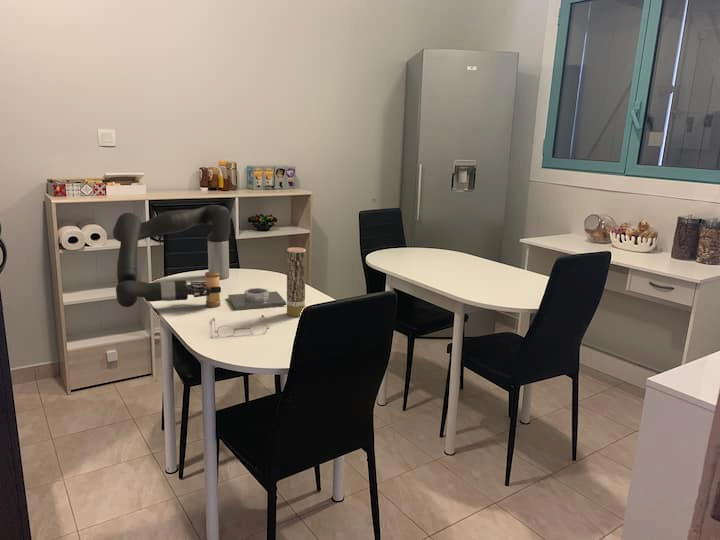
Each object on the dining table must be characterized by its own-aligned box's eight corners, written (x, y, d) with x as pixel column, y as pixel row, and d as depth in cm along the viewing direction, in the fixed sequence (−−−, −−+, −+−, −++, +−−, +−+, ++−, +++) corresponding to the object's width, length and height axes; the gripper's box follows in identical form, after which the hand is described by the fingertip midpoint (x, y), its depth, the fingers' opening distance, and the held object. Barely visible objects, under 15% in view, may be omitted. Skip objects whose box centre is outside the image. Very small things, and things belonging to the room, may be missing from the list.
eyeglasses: (214, 338, 187) (214, 326, 186) (212, 321, 205) (212, 310, 204) (269, 334, 192) (269, 323, 191) (262, 318, 210) (262, 308, 209)
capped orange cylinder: (205, 303, 221) (204, 271, 218) (219, 302, 223) (218, 271, 220) (206, 308, 216) (205, 275, 213) (221, 306, 218) (220, 274, 215)
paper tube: (297, 310, 217) (297, 246, 211) (308, 314, 212) (309, 249, 206) (283, 313, 212) (283, 248, 206) (294, 318, 208) (294, 252, 202)
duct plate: (228, 298, 229) (228, 287, 228) (276, 294, 236) (276, 284, 235) (234, 310, 215) (234, 298, 214) (286, 305, 222) (286, 294, 221)
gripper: (174, 286, 205) (222, 282, 211) (172, 276, 218) (217, 273, 224) (175, 305, 207) (222, 302, 213) (173, 295, 220) (217, 291, 226)
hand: (219, 287), depth 219 cm, fingers closed on capped orange cylinder, 5 cm apart
